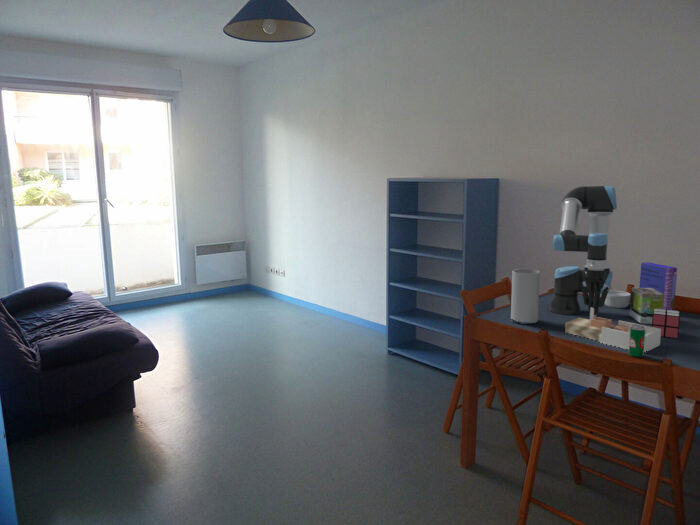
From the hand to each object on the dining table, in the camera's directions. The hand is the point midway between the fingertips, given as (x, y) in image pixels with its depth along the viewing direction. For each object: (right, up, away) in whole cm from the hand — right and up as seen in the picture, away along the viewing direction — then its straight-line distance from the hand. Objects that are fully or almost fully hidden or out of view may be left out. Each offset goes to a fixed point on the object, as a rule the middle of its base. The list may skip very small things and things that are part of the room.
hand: (592, 321), depth 222 cm
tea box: (+36, -2, +23) cm, 43 cm away
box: (+10, -8, -11) cm, 17 cm away
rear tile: (+2, -2, -3) cm, 4 cm away
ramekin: (+37, +3, +50) cm, 62 cm away
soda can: (+5, -11, -25) cm, 27 cm away
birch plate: (-1, -6, +2) cm, 7 cm away
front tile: (+6, -3, -8) cm, 10 cm away
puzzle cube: (+32, -6, +1) cm, 33 cm away
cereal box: (+51, +1, +38) cm, 64 cm away
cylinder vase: (-22, -3, +25) cm, 33 cm away
